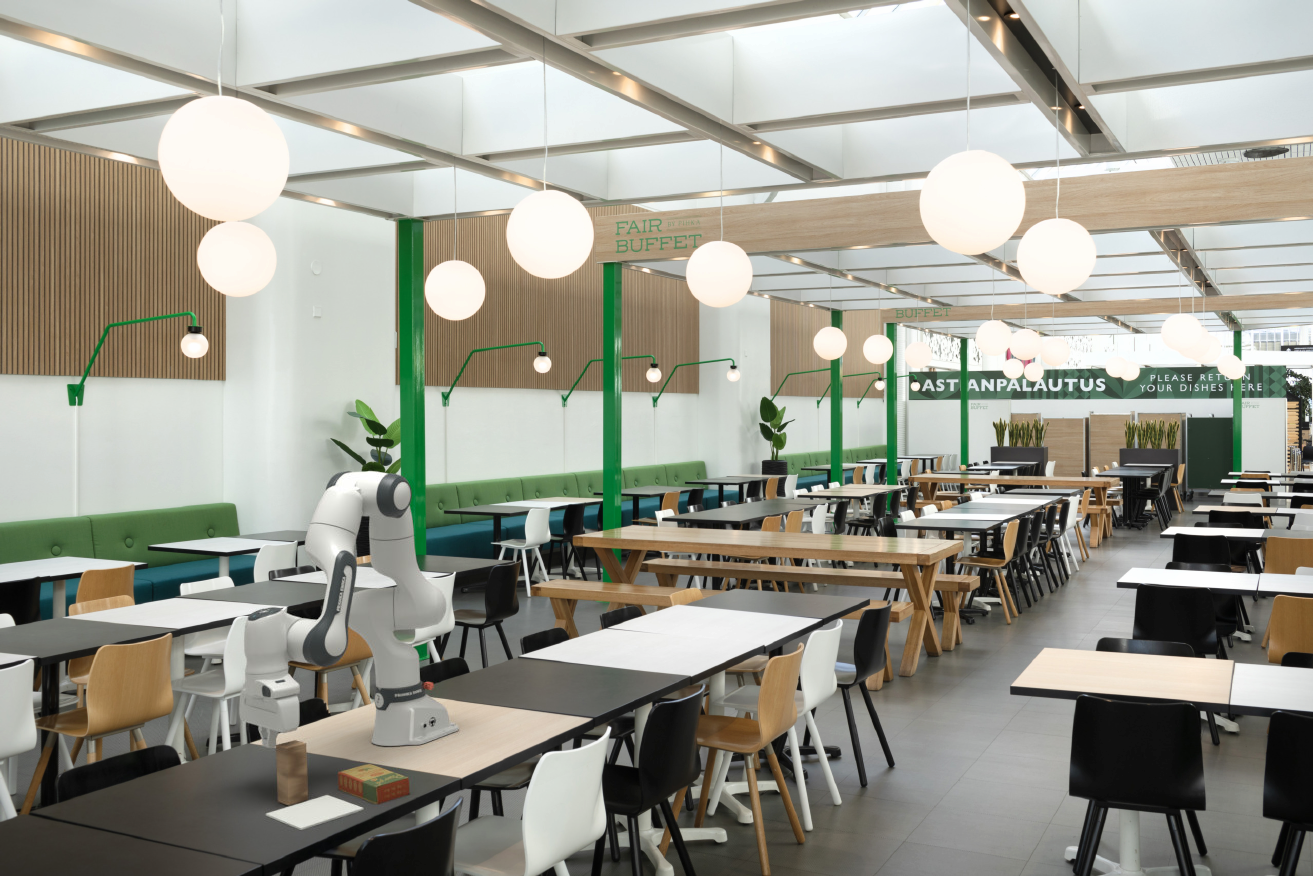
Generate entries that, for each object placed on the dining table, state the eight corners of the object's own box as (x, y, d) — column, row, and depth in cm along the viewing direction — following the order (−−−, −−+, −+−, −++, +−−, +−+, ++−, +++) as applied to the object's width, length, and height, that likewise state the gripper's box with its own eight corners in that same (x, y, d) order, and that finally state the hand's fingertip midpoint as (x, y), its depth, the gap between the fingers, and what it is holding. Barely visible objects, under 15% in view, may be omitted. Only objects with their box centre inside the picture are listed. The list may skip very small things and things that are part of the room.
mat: (327, 796, 223) (327, 795, 223) (363, 810, 214) (363, 808, 214) (265, 815, 213) (265, 813, 213) (301, 830, 203) (301, 828, 203)
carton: (371, 781, 234) (370, 762, 234) (410, 796, 223) (410, 775, 223) (337, 791, 228) (336, 771, 228) (376, 806, 217) (376, 785, 217)
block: (297, 796, 224) (295, 740, 224) (308, 800, 221) (306, 743, 221) (277, 802, 221) (275, 745, 221) (288, 806, 218) (286, 748, 218)
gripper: (230, 680, 232) (232, 742, 232) (276, 692, 218) (278, 758, 218) (257, 675, 237) (259, 736, 236) (304, 686, 223) (306, 750, 223)
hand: (269, 746), depth 227 cm, fingers closed
